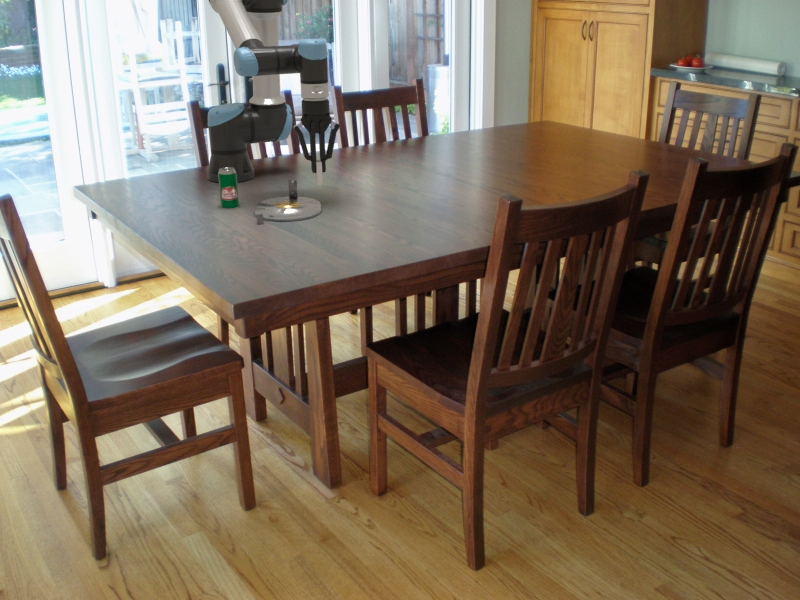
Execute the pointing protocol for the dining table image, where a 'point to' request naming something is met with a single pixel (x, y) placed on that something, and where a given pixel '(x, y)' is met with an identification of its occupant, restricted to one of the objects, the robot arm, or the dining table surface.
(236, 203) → the soda can
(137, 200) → the dining table surface
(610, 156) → the dining table surface
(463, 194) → the dining table surface
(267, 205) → the turntable
